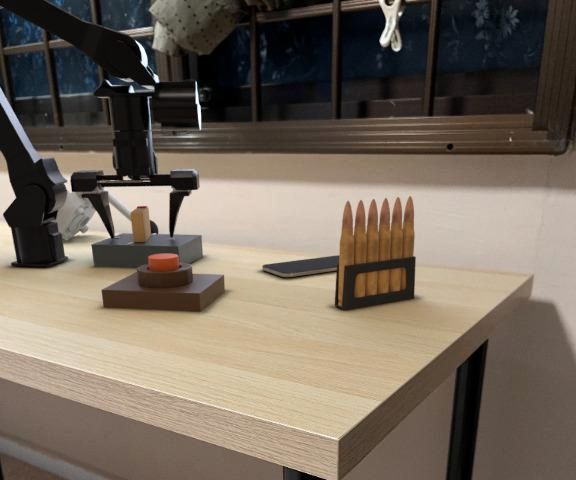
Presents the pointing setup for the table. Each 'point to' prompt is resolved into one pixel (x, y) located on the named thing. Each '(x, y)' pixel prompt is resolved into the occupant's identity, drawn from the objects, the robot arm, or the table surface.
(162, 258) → the button
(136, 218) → the block
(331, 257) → the smartphone
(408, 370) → the table surface
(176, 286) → the button box
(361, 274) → the ammunition clip
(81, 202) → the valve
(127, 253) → the panel
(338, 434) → the table surface
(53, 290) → the table surface
